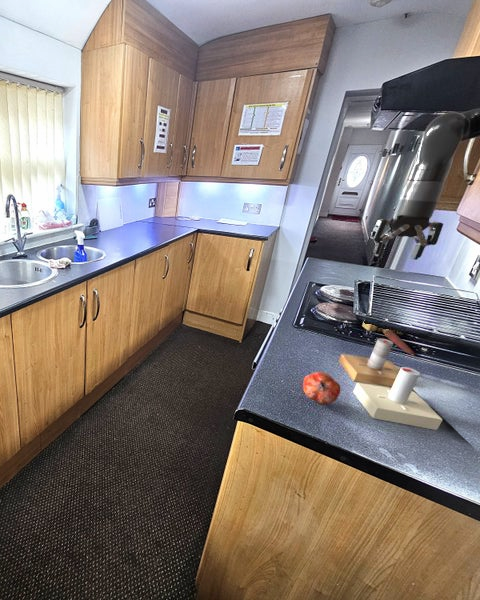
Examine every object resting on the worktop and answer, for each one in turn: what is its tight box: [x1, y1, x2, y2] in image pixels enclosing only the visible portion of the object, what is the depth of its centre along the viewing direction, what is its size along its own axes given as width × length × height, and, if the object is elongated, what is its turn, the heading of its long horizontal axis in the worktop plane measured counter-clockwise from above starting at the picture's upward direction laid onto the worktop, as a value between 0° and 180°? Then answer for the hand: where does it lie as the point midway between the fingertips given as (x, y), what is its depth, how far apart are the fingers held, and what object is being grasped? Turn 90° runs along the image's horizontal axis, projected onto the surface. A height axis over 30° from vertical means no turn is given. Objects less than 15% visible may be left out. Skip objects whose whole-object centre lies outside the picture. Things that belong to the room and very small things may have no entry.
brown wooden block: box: [338, 353, 400, 388], centre depth 90 cm, size 12×10×3 cm
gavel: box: [362, 321, 415, 356], centre depth 106 cm, size 21×5×10 cm
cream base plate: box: [353, 382, 444, 431], centre depth 77 cm, size 12×10×3 cm
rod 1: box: [367, 337, 394, 370], centre depth 88 cm, size 3×3×8 cm
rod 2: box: [388, 366, 421, 404], centre depth 75 cm, size 3×3×8 cm
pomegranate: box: [302, 371, 341, 405], centre depth 80 cm, size 7×7×10 cm
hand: (395, 257), depth 93 cm, fingers open, 8 cm apart
